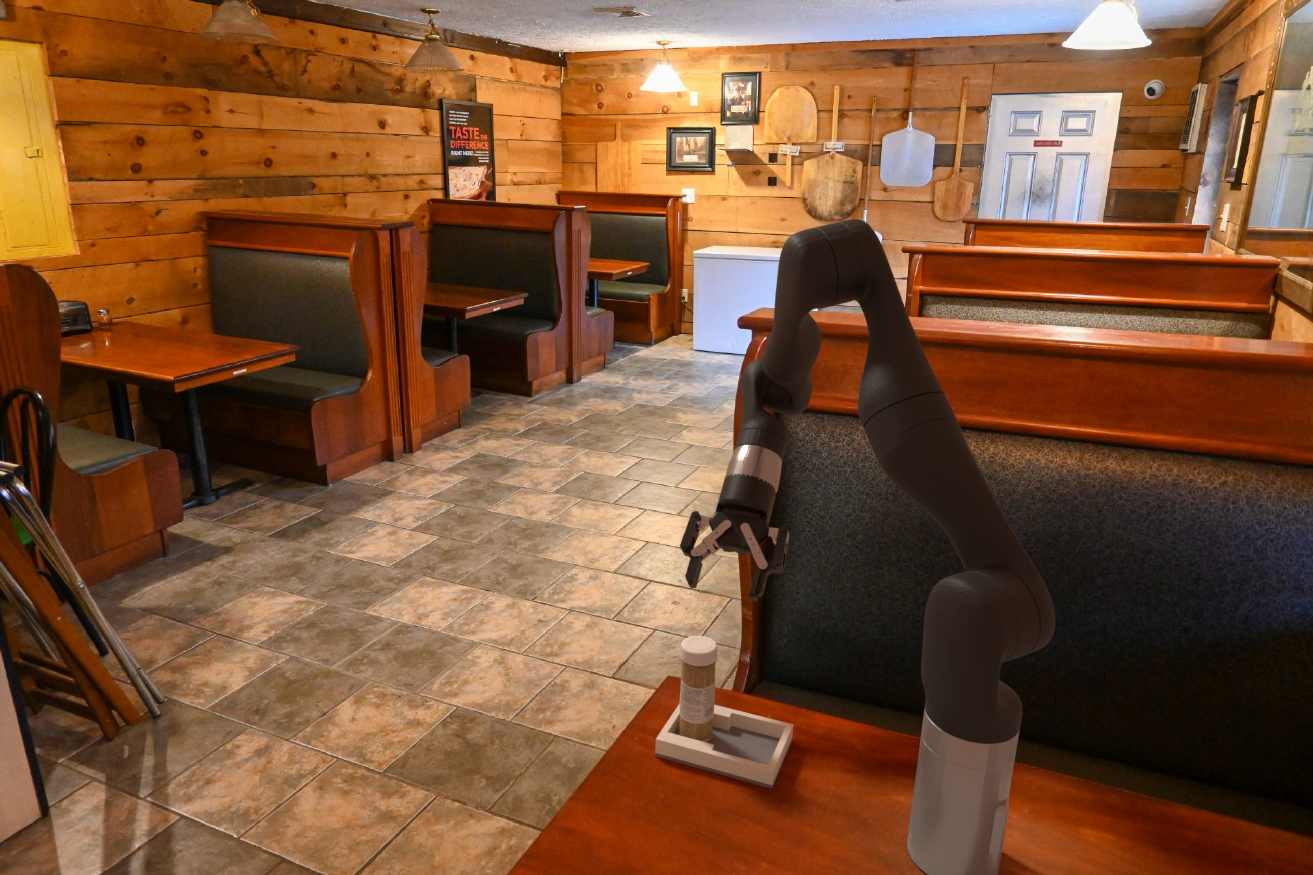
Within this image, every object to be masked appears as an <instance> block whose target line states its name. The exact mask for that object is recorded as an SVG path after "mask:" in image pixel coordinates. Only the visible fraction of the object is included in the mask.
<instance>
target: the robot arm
mask: <svg viewBox="0 0 1313 875" xmlns="http://www.w3.org/2000/svg"><path fill="white" fill-rule="evenodd" d="M776 276H777V277H776V285H775V286H776V287H775V295H774V296H775V297H774V311H773V323H772V328H771V332H770V335H769V338H768V341H767V344H766V345H765V350H764V352H763V355H762V358H758V359H754V360H753V361H751V362H750V363H749V364H748V365H747V366H746V367H745V369H744V371H743V373H742V377H741V381H740V382H741V384H740V386H741V387H740V388H741V392H740V393H741V406H742V407H741V409H742V412H741V422H740V424H741V425H740V428H739V431H738V436H737V439H736V443H735V447H734V450H733V453H732V455H731V458H730V459H729V463H728V465H727V468H726V471H725V476H724V480H723V483H722V485H721V490H720V493H719V497H718V502H717V505H716V508H715V512H714V513H713V514H712V516H706V515H702V514H700V512H699V511H697V510H693V511H692V512H691V513H690V517H689V518H688V522H687V523H686V524H687V525H686V527H685V531H684V533H683V535H682V539H681V541H680V544H679V548H680V550H681V552H682V553H683V555H684V556H685V557H688V558H689V561H688V565H687V569H686V573H685V580H686V582H687V585H688V586H689V588H691V589H696V588H697V586H698V584H699V580H700V576H701V572H702V568H703V564H704V563H703V561H705V560H706V559H708V558H709V556H712V555H715V554H716V553H718V551H720V550H722V551H723V552H727V553H736V554H739V555H742V556H746V555H747V554H750V553H751V554H752V557H753V559H754V561H755V563H756V565H757V569H755V570H754V574H753V580H752V583H751V587H750V589H749V590H750V591H749V598H750V600H751V601H754V602H757V601H758V598H762V597H763V595H764V594H765V589H766V585H767V580H768V577H769V576H770V575H771V574H778V575H781V574H784V571H785V567H786V561H787V555H788V554H787V553H788V550H789V542H790V538H791V537H790V534H789V529H788V527H787V526H785V525H781V526H779V527H772V526H771V527H770V526H769V525H770V524H769V523H770V519H771V516H772V513H773V508H774V504H775V500H776V494H777V492H778V490H779V487H780V480H781V473H782V472H781V471H782V466H783V465H782V464H783V461H784V455H785V452H786V447H787V445H788V441H789V435H790V434H789V433H790V431H789V427H788V426H787V425H786V423H785V422H784V421H783V420H781V419H779V418H778V417H776V416H774V415H773V414H772V413H770V412H769V411H772V412H776V413H779V414H783V415H786V416H797V415H799V414H802V412H804V411H805V410H806V409H807V408H808V406H809V404H810V402H811V399H812V394H813V377H812V376H813V374H812V369H813V368H814V365H815V364H816V361H817V360H818V357H819V355H820V353H821V352H820V351H821V348H822V342H823V341H822V340H823V339H822V333H821V329H820V327H819V325H818V323H817V321H816V320H815V319H814V318H813V316H812V315H811V314H810V312H812V311H814V310H816V309H818V310H820V309H825V308H830V307H835V306H838V305H843V304H847V303H850V302H853V301H855V302H857V304H858V305H859V306H860V309H861V311H862V313H863V316H864V319H865V322H866V327H867V332H868V333H867V334H868V343H867V344H868V345H867V352H866V359H865V363H864V367H863V372H862V376H861V381H860V385H859V386H860V387H859V392H858V402H857V405H858V406H857V409H858V410H857V412H858V417H859V418H858V419H859V421H860V423H861V425H862V428H863V431H864V433H865V435H866V437H867V440H868V442H869V444H870V445H869V446H871V449H872V451H873V453H874V456H875V458H876V460H877V463H878V464H879V466H880V467H881V469H882V471H883V472H884V473H885V475H886V476H887V477H888V478H889V479H890V480H891V481H892V483H893V484H895V485H896V487H898V488H899V489H900V490H901V492H903V493H904V494H905V495H906V496H907V497H908V498H910V499H911V500H912V501H913V502H914V504H917V505H918V506H919V507H920V508H921V509H922V510H924V512H926V514H928V515H929V516H930V517H931V518H932V519H933V520H934V521H935V522H936V524H938V525H939V527H941V529H942V530H943V532H944V533H945V534H946V537H947V538H948V539H949V541H950V542H951V545H952V546H953V547H954V550H955V551H956V554H957V556H958V559H959V560H960V562H961V565H962V567H963V569H964V572H960V573H957V574H952V575H949V576H946V577H944V578H942V579H941V580H939V581H938V582H937V583H936V584H935V585H934V586H933V588H931V592H930V594H929V596H928V598H927V603H926V606H925V611H924V621H923V622H924V623H923V633H922V634H923V635H922V654H921V665H920V667H921V668H920V669H921V670H920V672H921V673H920V674H921V676H920V677H921V682H922V686H923V690H924V695H925V700H924V701H925V703H924V710H923V718H922V725H921V726H922V727H921V732H920V733H921V734H920V741H919V742H920V743H919V749H918V756H917V764H916V772H915V780H914V787H913V793H912V794H913V795H912V802H911V808H910V809H911V810H910V811H911V812H910V818H909V824H908V831H907V833H908V834H907V839H906V840H907V841H906V842H907V843H906V844H907V847H906V848H907V851H908V854H909V856H910V858H911V859H912V862H914V863H915V865H916V866H917V867H918V868H919V869H920V870H921V871H922V872H924V873H925V874H926V875H999V870H1000V866H1001V865H1000V864H1001V858H1002V854H1003V853H1002V852H1003V847H1004V843H1005V842H1004V841H1005V835H1006V831H1007V830H1006V828H1007V823H1008V817H1009V808H1010V790H1011V785H1012V779H1013V778H1012V777H1013V773H1014V766H1015V761H1016V754H1017V749H1018V742H1019V736H1020V735H1019V734H1020V730H1021V725H1022V724H1021V723H1022V718H1023V704H1022V701H1021V698H1020V697H1019V695H1018V694H1017V693H1016V691H1015V690H1014V689H1012V687H1010V686H1009V685H1008V684H1006V683H1005V682H1003V681H1001V680H1000V673H1001V667H1002V665H1003V663H1006V662H1010V661H1012V660H1015V659H1018V658H1022V657H1024V656H1027V655H1030V654H1032V653H1035V652H1038V651H1039V650H1042V649H1043V648H1045V647H1046V646H1047V645H1048V644H1049V642H1050V641H1051V640H1052V638H1053V636H1054V635H1055V634H1054V633H1055V628H1056V614H1055V607H1054V604H1053V600H1052V598H1051V595H1050V592H1049V590H1048V588H1047V586H1046V584H1045V582H1044V580H1043V579H1042V576H1041V574H1040V572H1039V571H1038V570H1037V567H1036V566H1035V564H1034V563H1033V561H1032V559H1031V557H1030V555H1028V553H1027V551H1026V549H1025V548H1024V546H1023V545H1022V543H1021V541H1020V539H1019V538H1018V537H1017V535H1016V533H1015V531H1014V530H1013V527H1012V526H1011V525H1010V522H1009V521H1008V520H1007V518H1006V516H1005V514H1004V513H1003V511H1002V509H1001V508H1000V506H999V504H998V502H997V500H996V498H995V496H994V495H993V492H992V490H991V488H990V487H989V483H988V481H987V480H986V478H985V476H984V474H983V472H982V471H981V469H980V467H979V465H978V463H977V460H976V458H975V457H974V456H975V455H973V453H972V451H971V449H970V447H969V445H968V442H967V440H966V437H965V435H964V433H963V430H962V427H961V426H960V424H959V420H958V419H957V417H956V414H955V412H954V410H953V408H952V406H951V404H950V402H949V399H948V398H947V395H946V393H945V391H944V389H943V388H942V386H941V383H940V382H939V380H938V378H937V376H936V374H935V372H934V370H933V368H932V366H931V363H930V361H929V360H928V357H927V356H926V353H925V351H924V350H923V347H922V345H921V344H922V343H921V342H920V340H919V338H918V336H917V333H916V332H915V329H914V327H913V325H912V323H911V320H910V317H909V315H908V312H907V309H906V306H905V303H904V301H903V298H902V295H901V293H900V289H899V286H898V284H897V281H896V278H895V276H894V274H893V270H892V267H891V265H890V262H889V259H888V257H887V255H886V251H885V250H884V247H883V245H882V242H881V240H880V238H879V236H878V235H877V233H876V232H875V230H874V229H873V227H871V225H870V224H868V222H866V221H864V220H862V219H855V218H854V219H845V220H841V221H837V222H832V223H828V224H824V225H819V226H815V227H812V228H811V227H810V228H806V229H803V230H800V231H797V232H795V233H793V234H792V235H790V236H789V237H788V238H787V239H786V240H785V242H784V244H783V245H782V248H781V251H780V255H779V259H778V265H777V275H776ZM767 410H769V411H767ZM706 527H710V530H711V532H710V533H709V534H708V535H706V536H705V537H704V538H703V539H702V541H701V542H700V543H699V544H698V545H696V543H697V541H698V538H699V534H700V532H703V531H704V530H705V528H706ZM770 537H771V539H772V543H773V544H774V545H775V548H774V553H773V560H769V561H767V560H766V558H765V555H764V554H763V552H762V550H761V547H760V545H761V544H763V543H764V542H765V541H766V540H767V539H768V538H770Z"/></svg>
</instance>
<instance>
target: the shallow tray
mask: <svg viewBox="0 0 1313 875" xmlns="http://www.w3.org/2000/svg"><path fill="white" fill-rule="evenodd" d="M679 710H680V702H679V704H678V705H677V706H676V708H675V710H674V711H673V712H672V714H671V716H670V717H669V718H668V720H667V722H666V723H665V724H664V726H663V727H662V729H661V731H660V732H659V734H658V735H657V737H656V738H655V752H654V753H655V754H654V756H655V757H656V758H657V757H658V758H660V759H664V760H667V761H672V762H675V763H679V764H682V765H685V766H689V767H693V768H696V769H700V770H704V771H707V772H711V773H714V774H718V775H721V776H724V777H725V776H726V777H728V778H732V779H736V780H739V781H742V782H746V783H749V784H753V785H757V786H761V787H764V788H768V789H770V790H772V789H773V787H774V785H775V783H776V781H777V778H778V776H779V773H780V771H781V769H782V766H783V764H784V761H785V759H786V758H787V757H786V756H787V754H788V752H789V749H790V747H791V744H792V742H793V734H794V724H793V723H788V722H785V721H780V720H777V719H773V718H770V717H766V716H761V715H758V714H757V715H756V714H754V713H753V714H752V713H749V712H745V711H742V710H738V709H733V708H729V707H725V706H720V705H717V704H714V716H713V727H712V730H713V737H712V739H711V740H710V741H709V742H708V743H706V742H702V741H699V740H695V739H691V738H687V737H684V736H680V735H679V733H678V732H679V728H680V713H679Z"/></svg>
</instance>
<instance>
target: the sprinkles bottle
mask: <svg viewBox="0 0 1313 875" xmlns="http://www.w3.org/2000/svg"><path fill="white" fill-rule="evenodd" d="M680 659H681V673H680V674H681V675H680V692H679V703H680V710H679V713H680V728H679V732H678V733H679V735H680V736H684V737H687V738H691V739H695V740H699V741H702V742H706V743H708V742H709V741H710V740H711V739H712V737H713V730H712V727H713V716H714V705H715V700H716V698H715V696H716V663H717V659H718V644H717V642H716V641H715V640H714V639H713V638H711V637H707V636H704V635H691V636H687V637H686V638H685V639H683V640H682V642H681V644H680Z"/></svg>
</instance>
